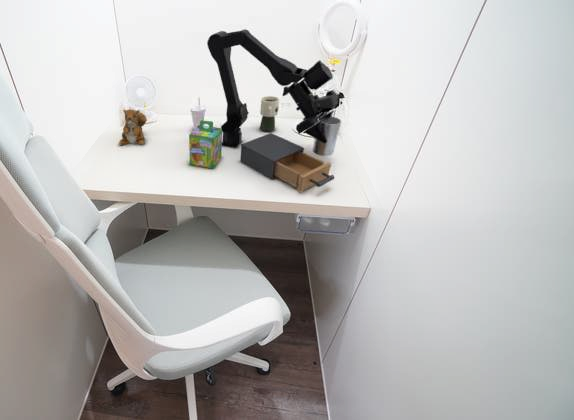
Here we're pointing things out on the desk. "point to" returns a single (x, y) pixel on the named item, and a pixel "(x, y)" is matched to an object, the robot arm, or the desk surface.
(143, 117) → the stuffed squirrel
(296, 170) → the drawer
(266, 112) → the character mug
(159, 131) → the desk surface
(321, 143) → the steel cup
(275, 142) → the organizer
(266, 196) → the desk surface
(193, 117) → the smoothie
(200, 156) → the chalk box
